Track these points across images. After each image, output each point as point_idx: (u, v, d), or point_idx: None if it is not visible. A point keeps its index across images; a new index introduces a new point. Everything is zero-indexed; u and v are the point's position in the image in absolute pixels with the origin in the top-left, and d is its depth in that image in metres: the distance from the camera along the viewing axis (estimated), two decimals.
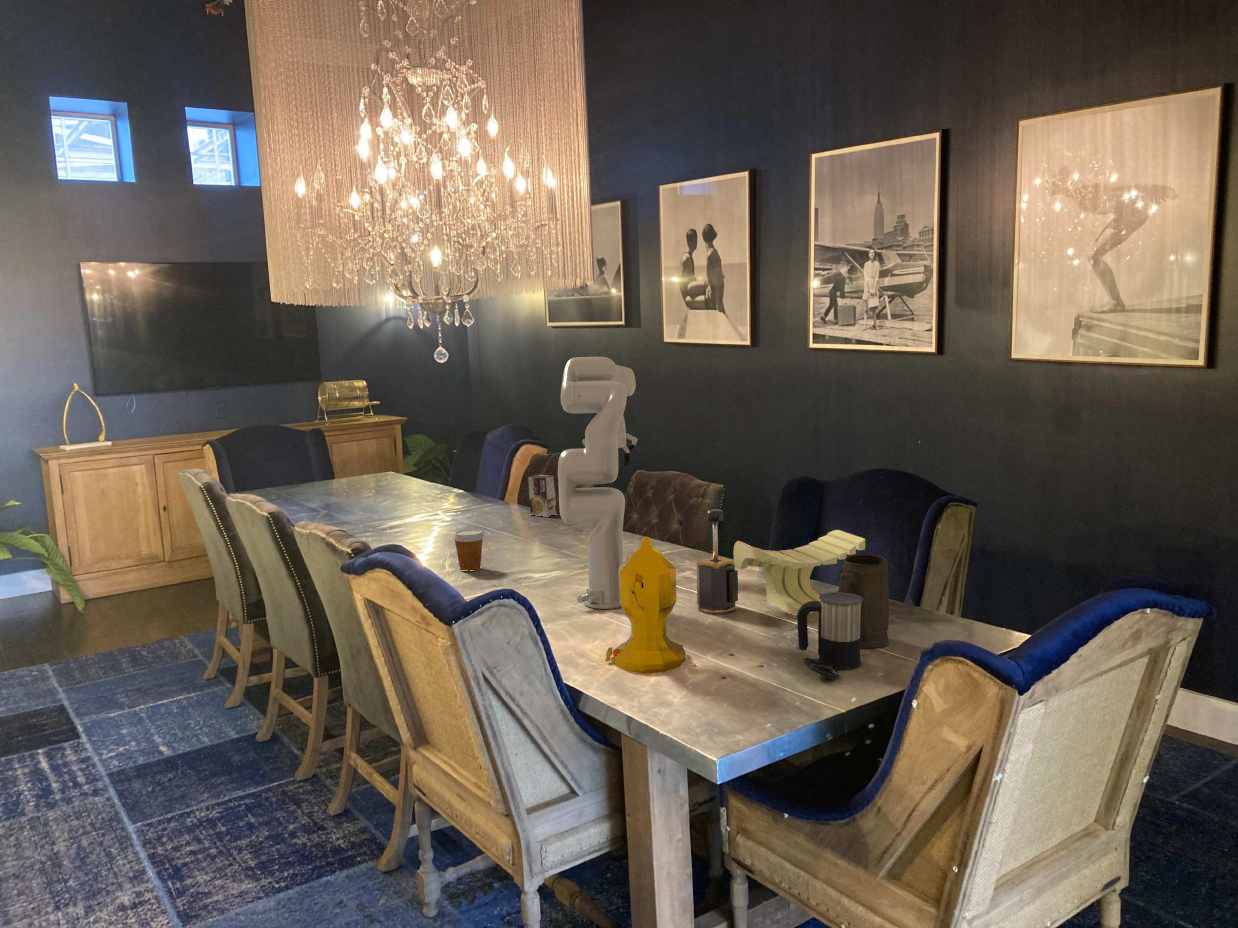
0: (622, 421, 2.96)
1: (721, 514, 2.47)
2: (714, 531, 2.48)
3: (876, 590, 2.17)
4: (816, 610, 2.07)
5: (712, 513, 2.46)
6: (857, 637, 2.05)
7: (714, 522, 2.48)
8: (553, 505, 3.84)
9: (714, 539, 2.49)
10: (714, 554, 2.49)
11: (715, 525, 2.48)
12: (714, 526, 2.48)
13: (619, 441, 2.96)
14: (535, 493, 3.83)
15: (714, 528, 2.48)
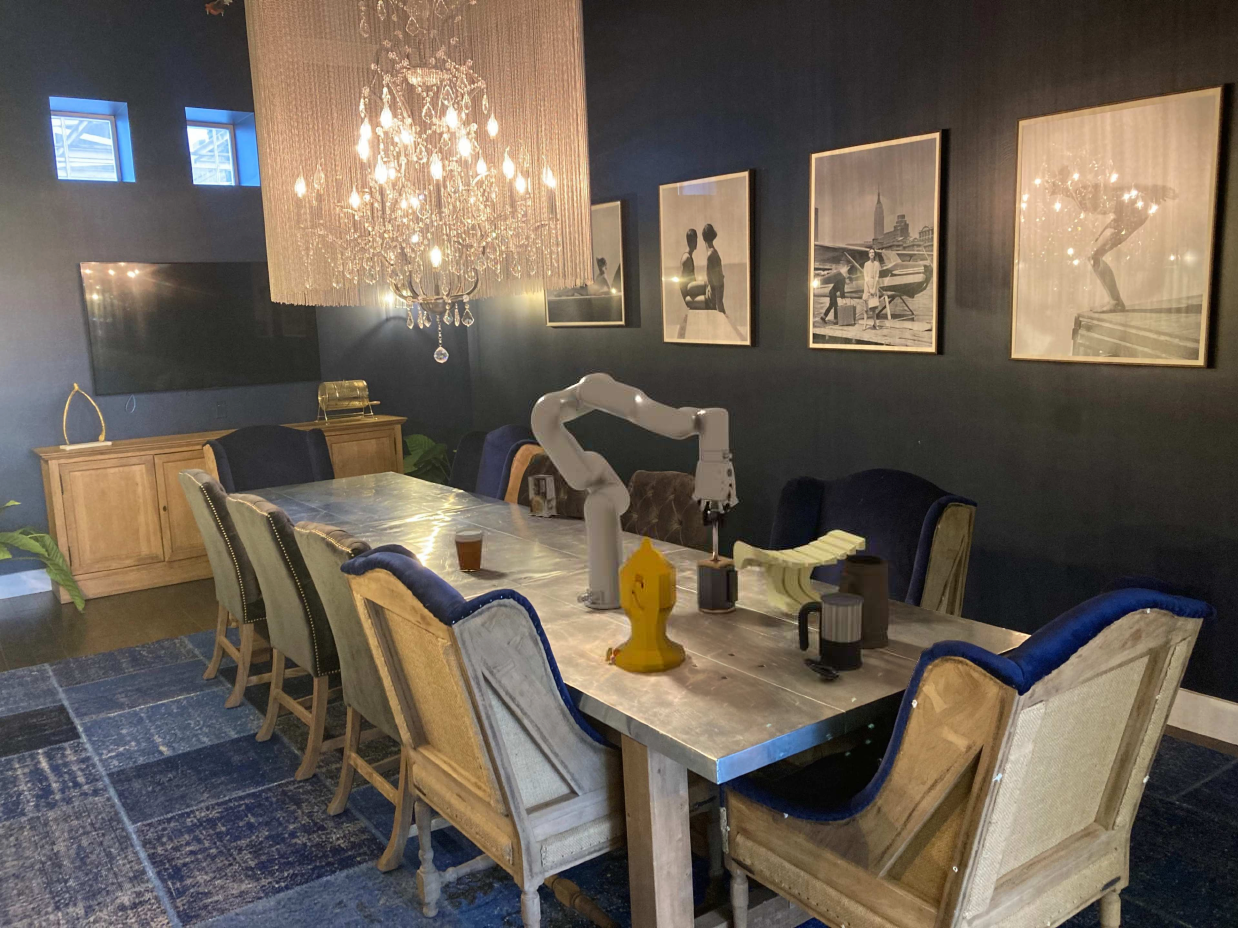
0: None
1: None
2: (714, 531, 2.48)
3: (876, 590, 2.17)
4: (817, 610, 2.07)
5: (712, 513, 2.46)
6: (857, 638, 2.05)
7: (714, 522, 2.48)
8: (553, 505, 3.84)
9: (714, 539, 2.49)
10: (714, 554, 2.49)
11: (715, 525, 2.48)
12: (714, 526, 2.48)
13: None
14: (535, 493, 3.83)
15: (714, 528, 2.48)
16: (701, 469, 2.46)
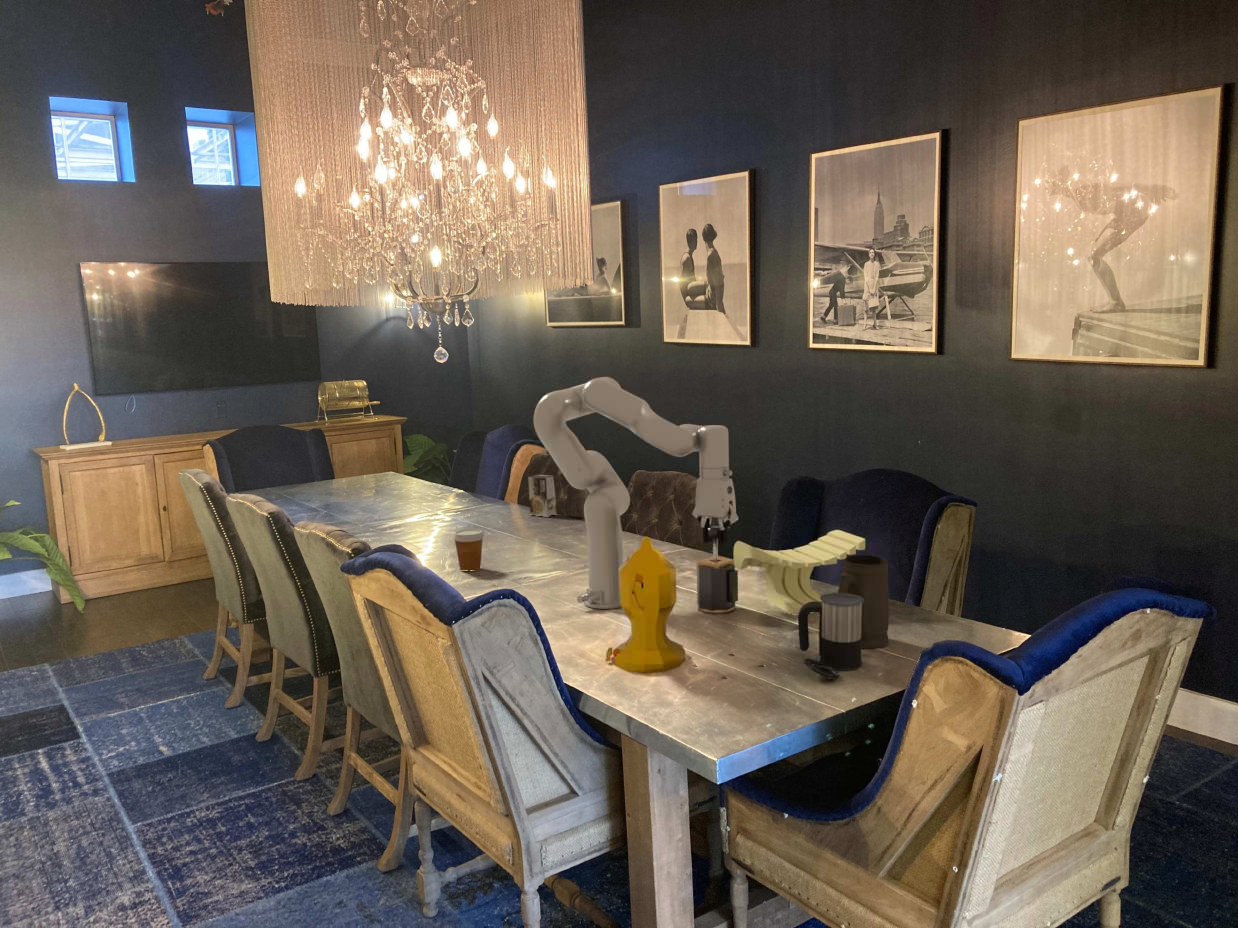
0: None
1: None
2: (714, 548, 2.49)
3: (876, 590, 2.17)
4: (817, 610, 2.07)
5: (712, 530, 2.47)
6: (857, 638, 2.05)
7: (714, 539, 2.49)
8: (553, 505, 3.84)
9: (714, 556, 2.49)
10: None
11: (715, 542, 2.49)
12: (714, 543, 2.49)
13: None
14: (535, 493, 3.83)
15: (714, 545, 2.49)
16: (701, 486, 2.47)
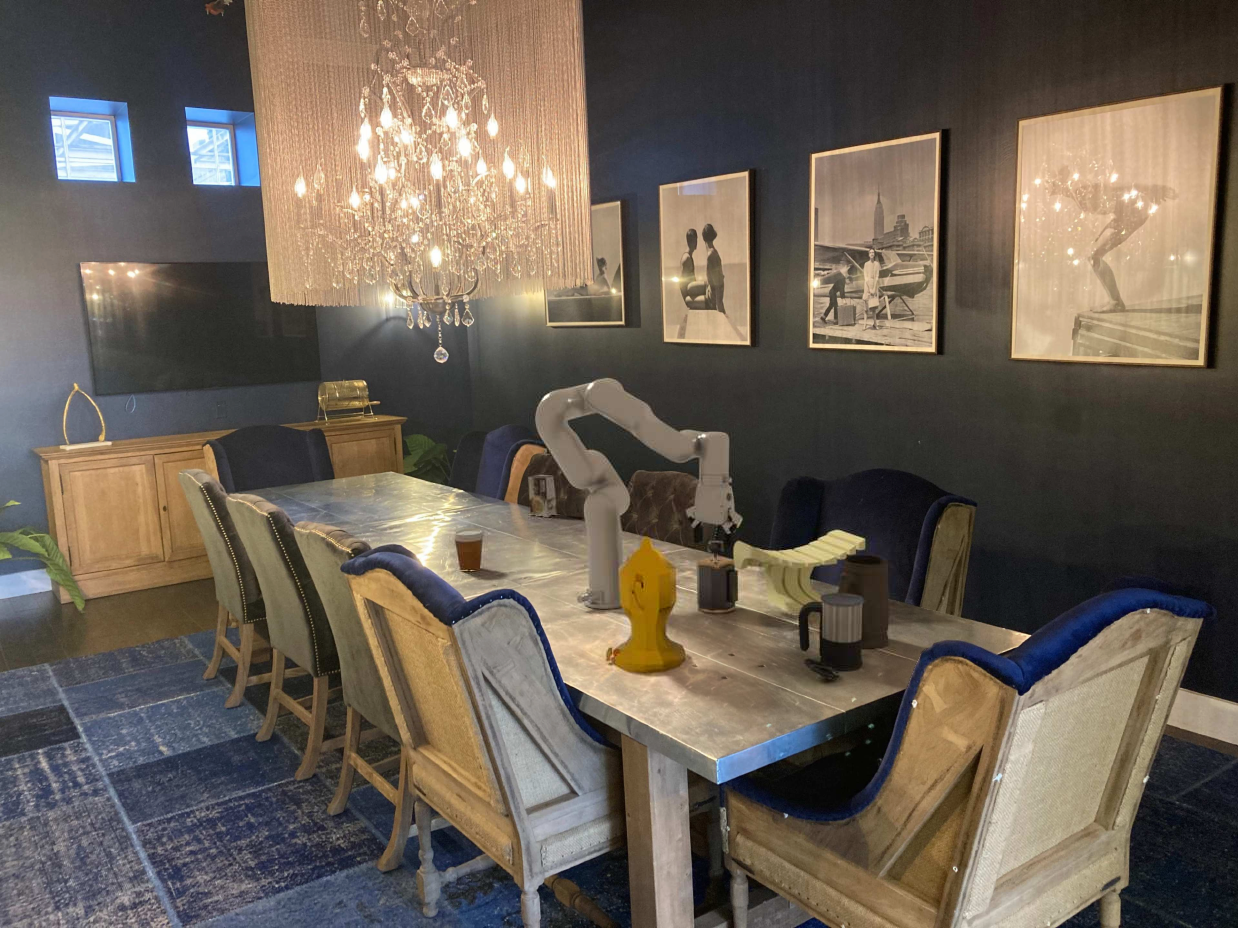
0: None
1: (721, 546, 2.48)
2: None
3: (876, 590, 2.17)
4: (817, 611, 2.07)
5: (712, 545, 2.48)
6: (858, 638, 2.05)
7: (714, 553, 2.49)
8: (553, 505, 3.84)
9: None
10: None
11: (715, 556, 2.49)
12: (714, 557, 2.49)
13: None
14: (535, 493, 3.83)
15: (714, 559, 2.49)
16: (701, 492, 2.47)
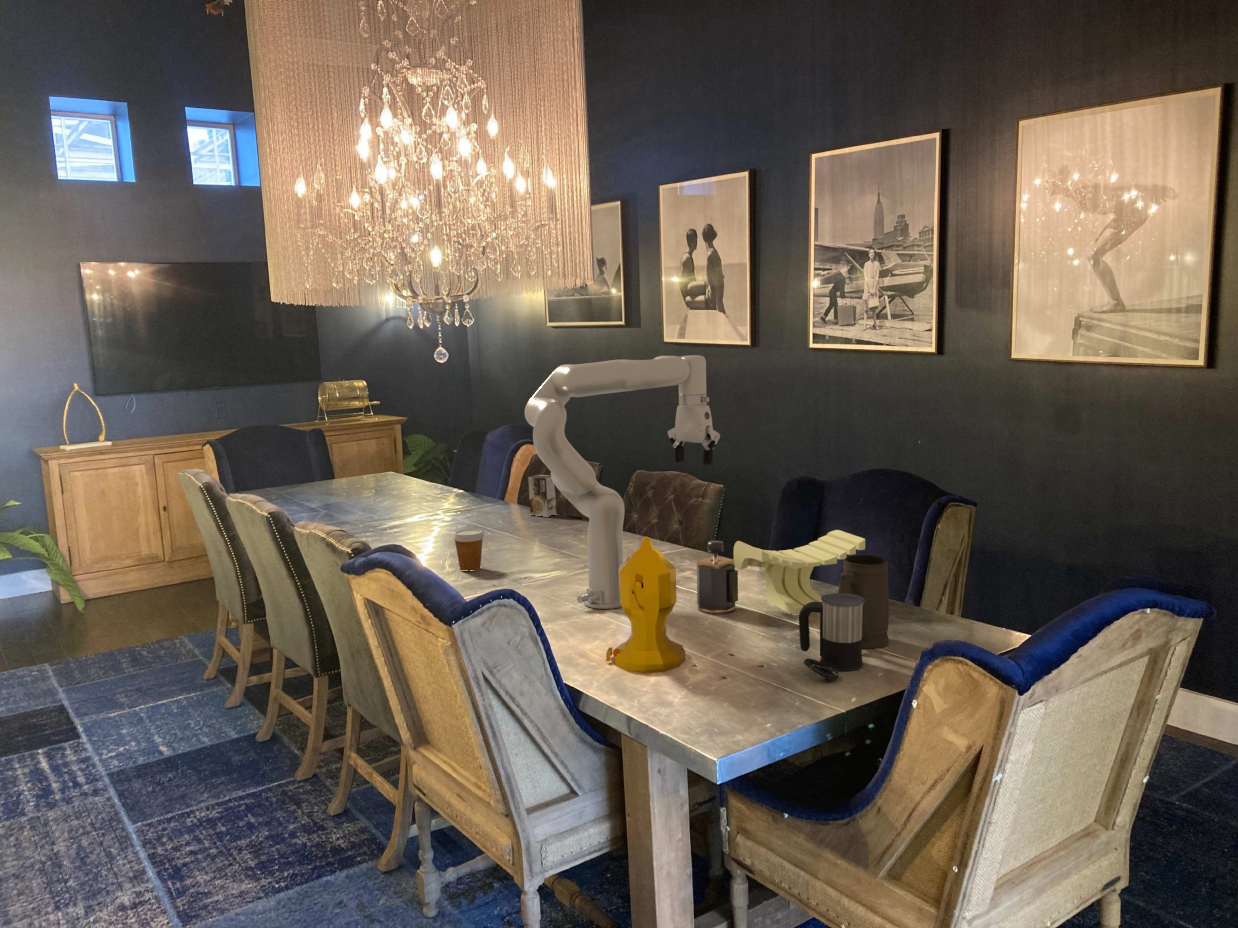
0: None
1: (721, 546, 2.48)
2: None
3: (876, 590, 2.17)
4: (817, 611, 2.07)
5: (712, 545, 2.48)
6: (858, 638, 2.05)
7: (714, 553, 2.49)
8: (553, 505, 3.84)
9: None
10: None
11: (715, 556, 2.49)
12: (714, 557, 2.49)
13: None
14: (535, 493, 3.83)
15: (714, 559, 2.49)
16: (680, 413, 2.63)
